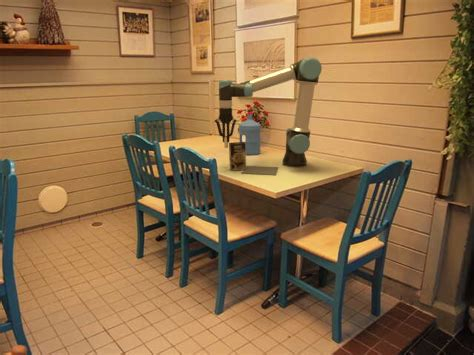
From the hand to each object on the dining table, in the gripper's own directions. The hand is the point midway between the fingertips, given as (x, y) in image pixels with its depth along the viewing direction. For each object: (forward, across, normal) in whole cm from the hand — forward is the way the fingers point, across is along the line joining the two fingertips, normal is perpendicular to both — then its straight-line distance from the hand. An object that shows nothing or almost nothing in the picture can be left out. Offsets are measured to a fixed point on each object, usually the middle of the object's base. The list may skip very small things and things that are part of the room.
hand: (226, 147), depth 227 cm
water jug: (+14, -7, -48) cm, 50 cm away
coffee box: (+13, -7, 0) cm, 15 cm away
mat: (+13, -21, 0) cm, 25 cm away
